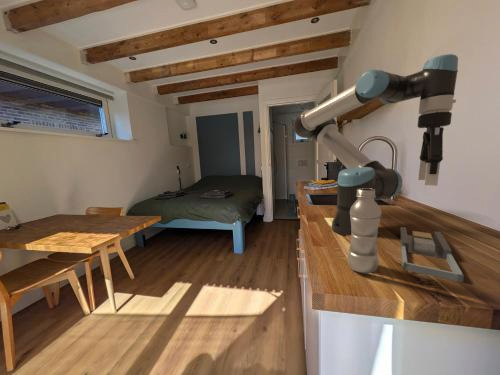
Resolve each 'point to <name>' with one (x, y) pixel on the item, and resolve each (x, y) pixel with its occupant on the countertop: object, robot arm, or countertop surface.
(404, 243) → the channel
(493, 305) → the countertop surface
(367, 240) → the plastic bottle
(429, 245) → the steel block
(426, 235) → the brass block
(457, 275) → the grey u-shaped frame
